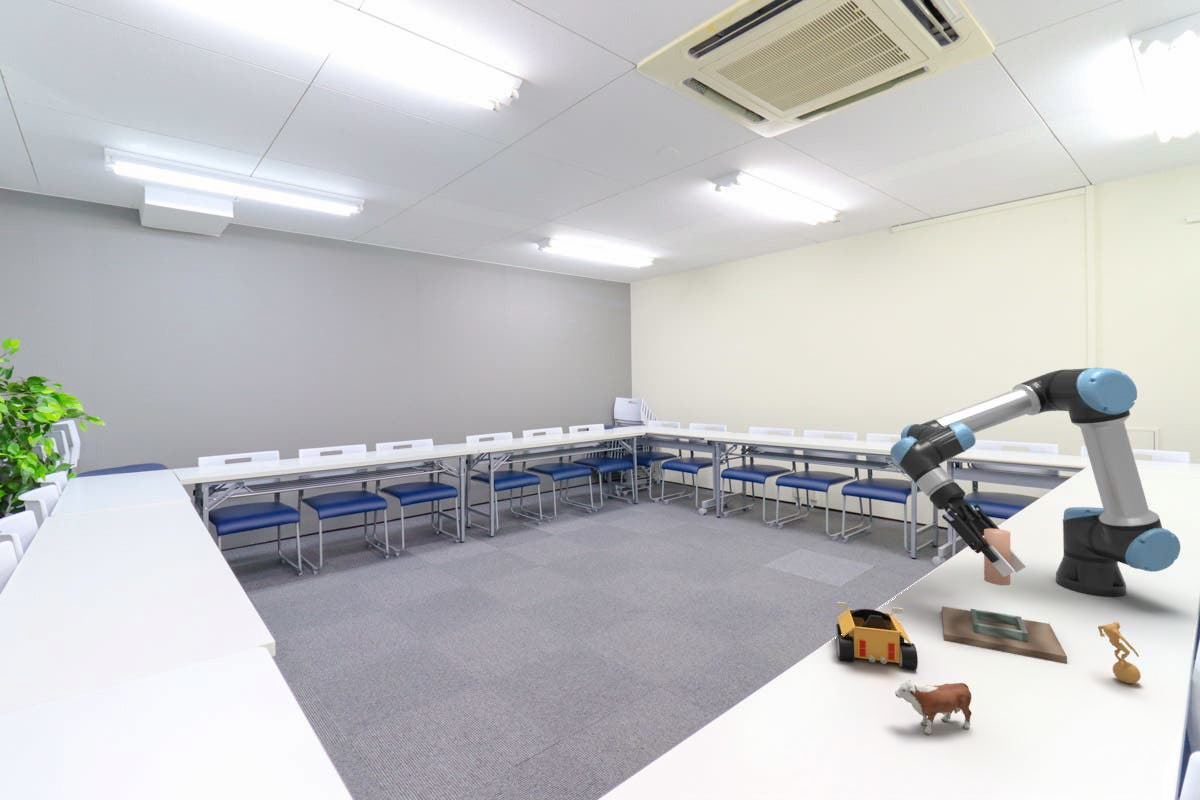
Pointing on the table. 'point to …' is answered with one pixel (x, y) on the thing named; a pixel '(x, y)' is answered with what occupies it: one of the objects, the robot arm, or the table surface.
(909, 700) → the bull figurine
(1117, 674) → the figurine
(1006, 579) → the pink rounded cylinder
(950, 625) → the jig board
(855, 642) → the race car
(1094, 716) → the table surface
